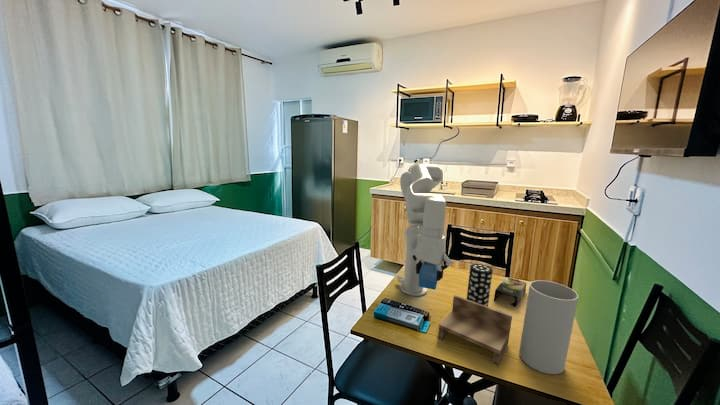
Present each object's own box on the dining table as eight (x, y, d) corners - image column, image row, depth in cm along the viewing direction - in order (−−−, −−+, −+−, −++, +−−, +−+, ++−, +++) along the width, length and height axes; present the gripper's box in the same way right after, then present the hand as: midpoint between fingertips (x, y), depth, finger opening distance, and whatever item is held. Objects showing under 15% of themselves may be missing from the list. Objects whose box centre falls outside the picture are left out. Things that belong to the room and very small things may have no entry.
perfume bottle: (435, 289, 106) (438, 259, 103) (418, 286, 108) (420, 256, 105) (437, 282, 112) (440, 253, 109) (421, 279, 114) (423, 250, 111)
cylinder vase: (520, 367, 90) (532, 294, 86) (517, 343, 102) (527, 277, 97) (568, 381, 86) (583, 304, 81) (559, 354, 97) (572, 285, 92)
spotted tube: (488, 320, 115) (495, 273, 111) (466, 317, 116) (472, 270, 113) (484, 309, 123) (490, 265, 119) (463, 306, 124) (468, 262, 121)
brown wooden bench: (437, 338, 103) (440, 308, 101) (451, 322, 113) (454, 294, 111) (497, 366, 91) (502, 333, 88) (507, 345, 101) (512, 315, 98)
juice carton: (504, 285, 146) (505, 274, 144) (526, 292, 140) (528, 280, 138) (492, 301, 130) (494, 288, 129) (516, 309, 124) (518, 296, 123)
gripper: (406, 228, 108) (403, 272, 112) (451, 239, 97) (446, 287, 101) (416, 224, 114) (413, 266, 117) (460, 234, 103) (455, 280, 107)
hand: (428, 275), depth 109 cm, fingers closed on perfume bottle, 7 cm apart
